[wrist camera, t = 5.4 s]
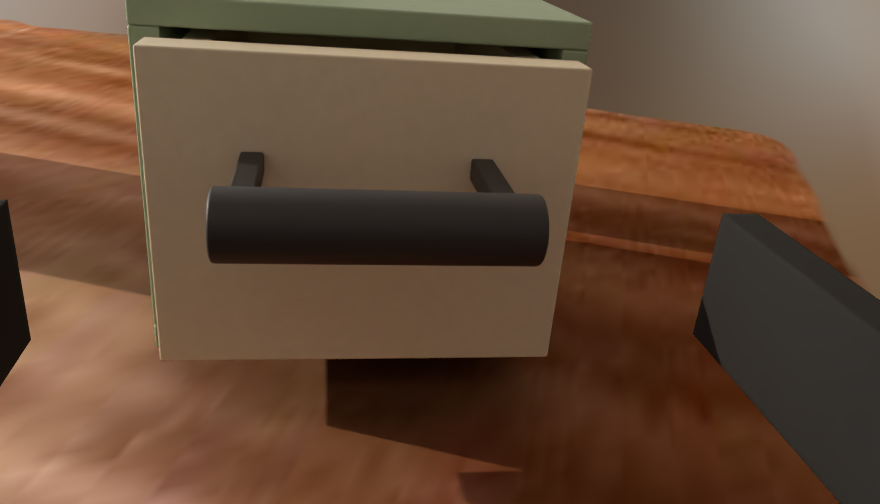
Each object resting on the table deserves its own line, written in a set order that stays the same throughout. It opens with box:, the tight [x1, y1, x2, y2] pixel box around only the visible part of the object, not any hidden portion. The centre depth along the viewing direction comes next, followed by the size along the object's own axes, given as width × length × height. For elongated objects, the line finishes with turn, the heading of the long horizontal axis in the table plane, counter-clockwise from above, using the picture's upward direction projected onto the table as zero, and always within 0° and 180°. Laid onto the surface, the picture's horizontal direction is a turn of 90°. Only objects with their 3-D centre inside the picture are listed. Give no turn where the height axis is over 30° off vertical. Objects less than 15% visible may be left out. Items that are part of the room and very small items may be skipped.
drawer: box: [133, 28, 592, 361], centre depth 24 cm, size 18×11×9 cm, turn 8°
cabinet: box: [125, 0, 592, 347], centre depth 29 cm, size 15×13×11 cm
